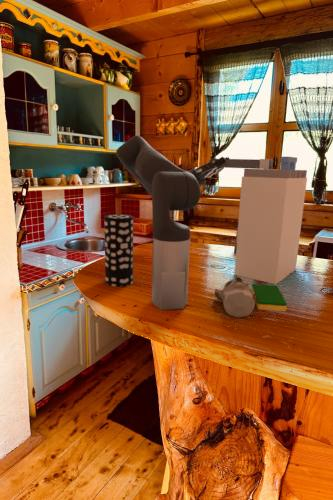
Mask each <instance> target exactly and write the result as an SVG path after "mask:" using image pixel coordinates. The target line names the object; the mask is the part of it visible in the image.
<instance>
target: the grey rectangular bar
mask: <svg viewBox="0 0 333 500" xmlns="http://www.w3.org/2000/svg"><path fill="white" fill-rule="evenodd" d="M218 159H219V158H211V161H210V162H211V163H212V162H213V161H216V160H218ZM225 160H226V162H225V163H223V164H222V165H220V166H219V167H223V168H224V169H225V168H228V169H231V168H232V169H273V163H274V161H273V160H274V159H273V158H271V159H270V158H259V159H250V158H248V159H247V158H245V159H244V158H237V159H236V158H229V159H225Z"/></svg>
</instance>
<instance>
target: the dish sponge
mask: <svg viewBox="0 0 333 500" xmlns="http://www.w3.org/2000/svg"><path fill="white" fill-rule="evenodd" d="M251 293H252V294H255V298H254V302H255V306H256V309H257V310H265V311H274V312H275V311H277V312H278V311H279V312H286V311H287V307H288V302H287V301H286V299H285V298H284V296H283V294H282V292H281V290H280V289H279V286H277V285H274V284H273V285H271V284H259V283H257V284H256V283H252V284H251Z"/></svg>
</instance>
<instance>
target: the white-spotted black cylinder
mask: <svg viewBox="0 0 333 500" xmlns="http://www.w3.org/2000/svg"><path fill="white" fill-rule="evenodd" d="M103 221H104V222H103V224H104V269H105V271H104V273H105V275H104V278H105V284H106V285H107V286H111V287H126V286H130V285H132V284H133V283H134V216H133V215H131V214H106V215H104V219H103Z"/></svg>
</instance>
